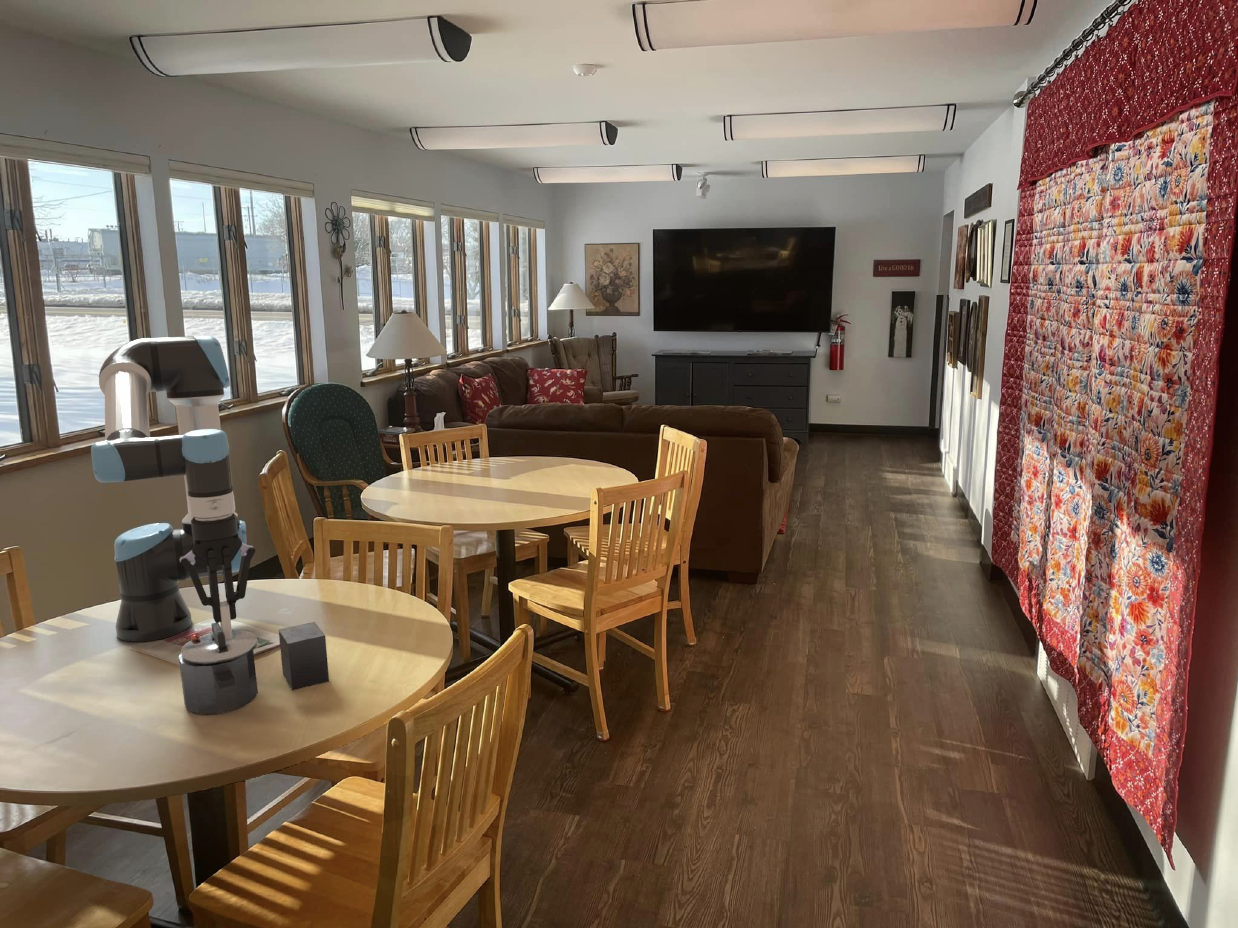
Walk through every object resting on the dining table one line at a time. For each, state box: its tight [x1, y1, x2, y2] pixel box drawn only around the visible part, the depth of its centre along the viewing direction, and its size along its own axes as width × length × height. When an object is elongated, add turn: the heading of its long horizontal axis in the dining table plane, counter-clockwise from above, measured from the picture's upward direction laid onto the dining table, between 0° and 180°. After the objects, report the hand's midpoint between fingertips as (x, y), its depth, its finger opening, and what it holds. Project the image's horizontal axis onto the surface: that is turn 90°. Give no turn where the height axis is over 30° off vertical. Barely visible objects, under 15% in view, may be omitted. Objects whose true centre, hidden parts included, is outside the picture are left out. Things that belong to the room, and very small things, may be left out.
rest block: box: [278, 621, 330, 691], centre depth 176 cm, size 8×7×10 cm
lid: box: [180, 622, 258, 664], centre depth 166 cm, size 13×13×4 cm
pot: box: [178, 649, 259, 716], centre depth 168 cm, size 21×12×10 cm, turn 32°
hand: (227, 636), depth 167 cm, fingers closed
